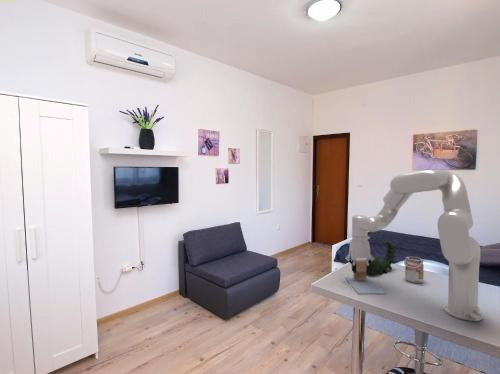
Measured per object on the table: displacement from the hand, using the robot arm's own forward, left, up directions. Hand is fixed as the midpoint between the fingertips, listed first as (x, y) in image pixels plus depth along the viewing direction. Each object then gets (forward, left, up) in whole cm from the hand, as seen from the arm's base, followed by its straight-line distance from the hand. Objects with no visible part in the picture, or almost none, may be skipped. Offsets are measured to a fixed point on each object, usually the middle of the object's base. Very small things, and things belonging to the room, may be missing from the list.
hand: (359, 271), depth 144 cm
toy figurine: (+12, -14, -5) cm, 20 cm away
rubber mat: (-6, 0, -5) cm, 8 cm away
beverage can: (0, -28, -5) cm, 28 cm away
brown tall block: (0, 0, -4) cm, 4 cm away
